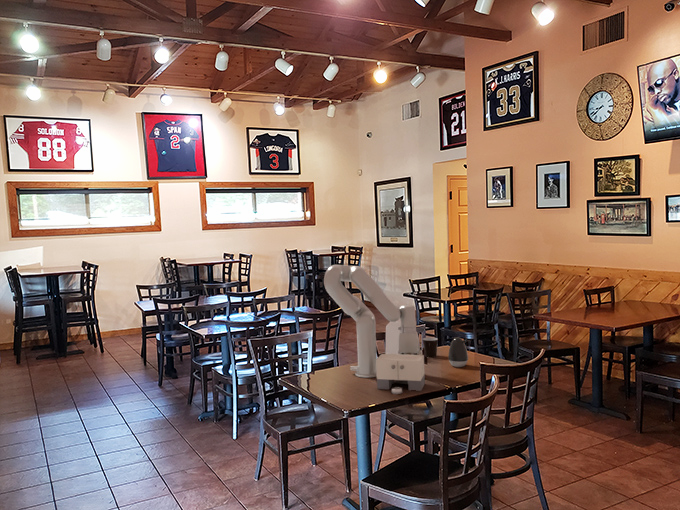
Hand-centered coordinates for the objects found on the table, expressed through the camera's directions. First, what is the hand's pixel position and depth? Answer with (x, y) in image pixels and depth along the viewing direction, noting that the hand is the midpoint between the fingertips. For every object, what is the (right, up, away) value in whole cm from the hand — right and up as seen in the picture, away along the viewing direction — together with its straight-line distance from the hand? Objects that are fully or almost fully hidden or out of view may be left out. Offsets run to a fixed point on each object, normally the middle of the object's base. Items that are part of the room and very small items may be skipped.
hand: (410, 365), depth 268 cm
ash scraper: (-2, -4, -7) cm, 9 cm away
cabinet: (-7, -5, -22) cm, 24 cm away
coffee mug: (+16, -3, +37) cm, 40 cm away
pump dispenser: (+27, -3, +12) cm, 30 cm away
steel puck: (-10, -5, -32) cm, 34 cm away
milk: (-2, -3, +39) cm, 39 cm away
